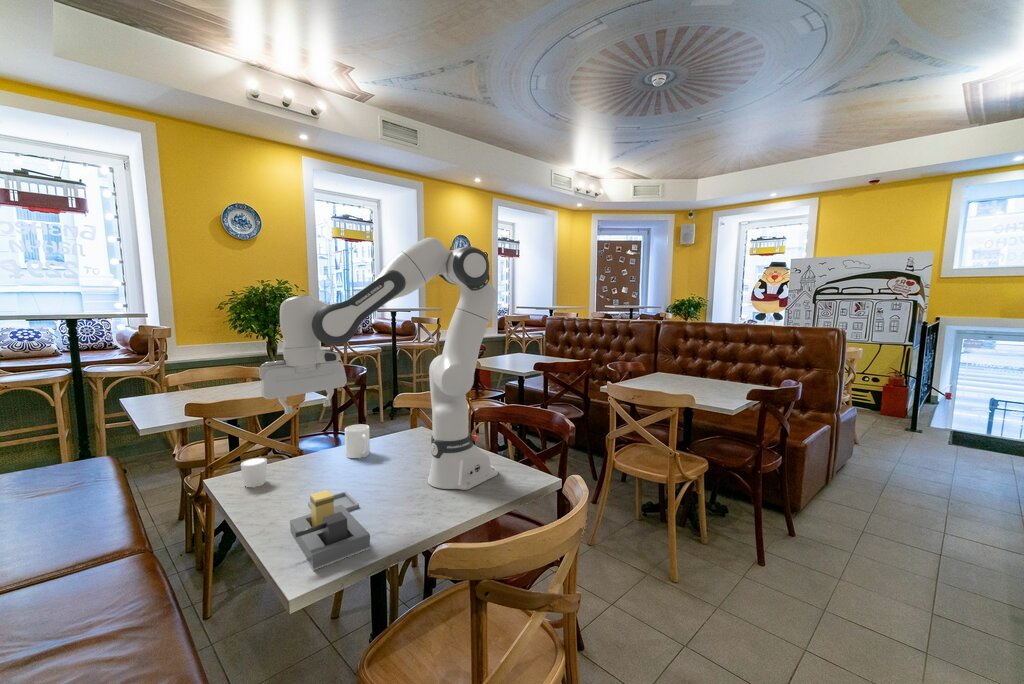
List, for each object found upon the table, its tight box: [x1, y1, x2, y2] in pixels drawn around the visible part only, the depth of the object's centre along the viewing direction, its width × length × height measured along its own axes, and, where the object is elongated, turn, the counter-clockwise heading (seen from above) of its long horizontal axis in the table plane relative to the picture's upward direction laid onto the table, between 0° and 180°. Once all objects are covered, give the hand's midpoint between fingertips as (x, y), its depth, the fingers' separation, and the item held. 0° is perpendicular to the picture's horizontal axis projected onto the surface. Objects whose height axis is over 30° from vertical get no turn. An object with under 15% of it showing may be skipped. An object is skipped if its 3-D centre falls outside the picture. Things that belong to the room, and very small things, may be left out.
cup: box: [344, 423, 371, 459], centre depth 150 cm, size 8×12×10 cm
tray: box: [307, 490, 360, 512], centre depth 112 cm, size 10×10×1 cm
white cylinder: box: [240, 457, 268, 488], centre depth 127 cm, size 7×7×7 cm
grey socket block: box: [289, 505, 371, 571], centre depth 96 cm, size 14×18×8 cm
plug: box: [309, 489, 334, 527], centre depth 100 cm, size 4×4×9 cm
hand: (308, 409), depth 110 cm, fingers open, 8 cm apart
